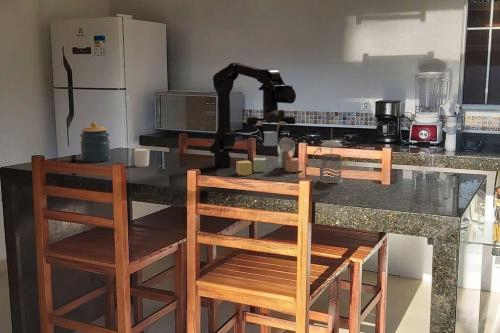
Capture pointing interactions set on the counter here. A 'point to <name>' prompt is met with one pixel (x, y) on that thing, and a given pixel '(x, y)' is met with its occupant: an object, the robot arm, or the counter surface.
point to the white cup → (141, 157)
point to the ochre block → (244, 167)
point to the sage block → (259, 165)
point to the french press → (330, 162)
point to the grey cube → (270, 138)
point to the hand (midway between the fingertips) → (270, 142)
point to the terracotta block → (291, 165)
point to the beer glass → (285, 150)
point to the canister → (94, 144)
